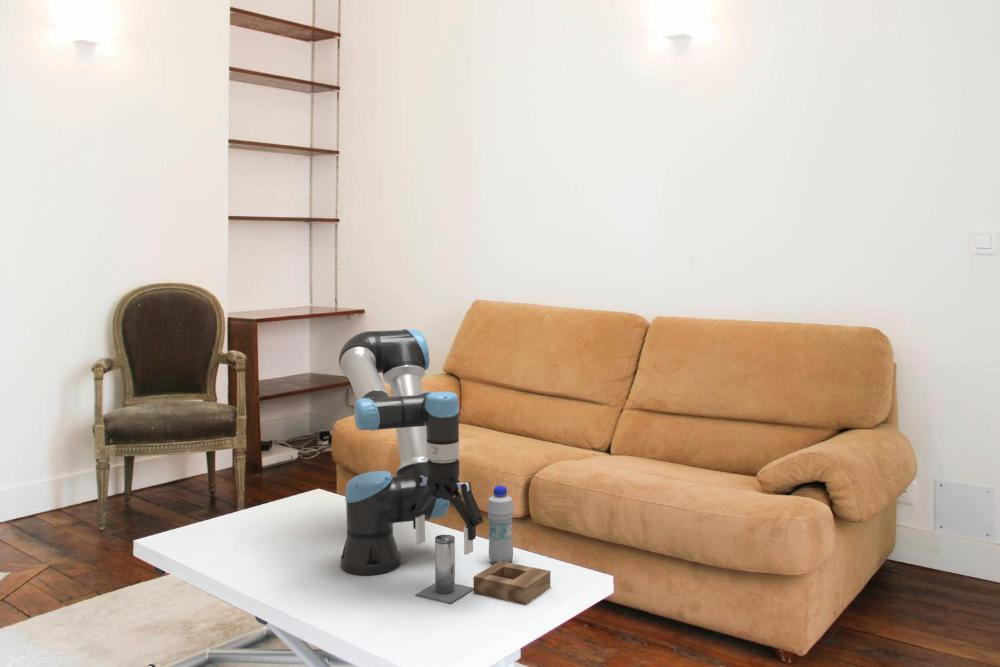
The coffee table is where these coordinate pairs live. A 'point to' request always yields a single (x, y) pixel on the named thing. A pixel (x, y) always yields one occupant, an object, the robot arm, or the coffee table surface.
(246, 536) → the coffee table surface
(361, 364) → the robot arm
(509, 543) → the bottle
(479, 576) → the housing
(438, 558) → the shiny metal cylinder
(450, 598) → the mat
